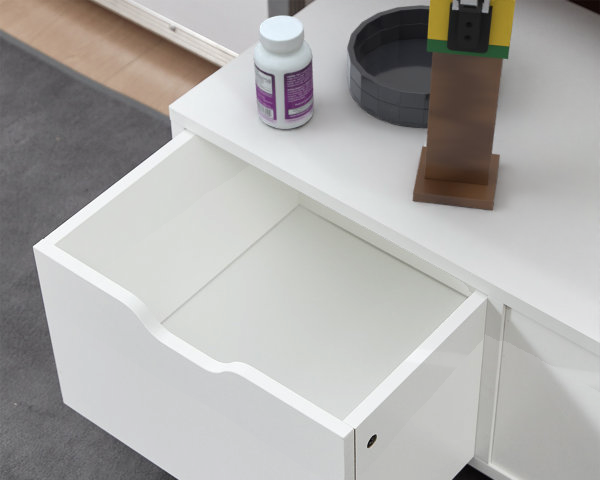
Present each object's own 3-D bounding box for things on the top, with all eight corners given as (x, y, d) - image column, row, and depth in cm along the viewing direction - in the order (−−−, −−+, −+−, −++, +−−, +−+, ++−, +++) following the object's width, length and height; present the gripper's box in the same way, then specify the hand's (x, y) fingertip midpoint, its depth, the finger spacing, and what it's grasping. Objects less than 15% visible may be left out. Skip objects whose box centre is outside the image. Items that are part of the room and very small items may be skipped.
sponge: (512, 29, 99) (518, -28, 95) (507, 59, 96) (514, 2, 92) (433, 21, 100) (436, -35, 96) (426, 51, 97) (430, -6, 93)
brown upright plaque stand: (499, 162, 111) (516, 21, 100) (492, 210, 106) (510, 68, 95) (421, 154, 112) (431, 13, 101) (412, 201, 107) (421, 59, 96)
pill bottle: (314, 95, 118) (312, 10, 111) (313, 130, 114) (311, 44, 107) (258, 96, 118) (253, 10, 111) (255, 131, 114) (250, 44, 107)
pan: (500, 46, 123) (504, 12, 120) (487, 135, 113) (491, 100, 110) (360, 33, 125) (360, -1, 122) (336, 119, 115) (336, 84, 112)
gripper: (539, -130, 78) (509, 100, 91) (553, -242, 89) (525, -22, 103) (421, -139, 79) (409, 90, 92) (450, -248, 90) (436, -30, 104)
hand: (470, 29), depth 97 cm, fingers closed on sponge, 4 cm apart
